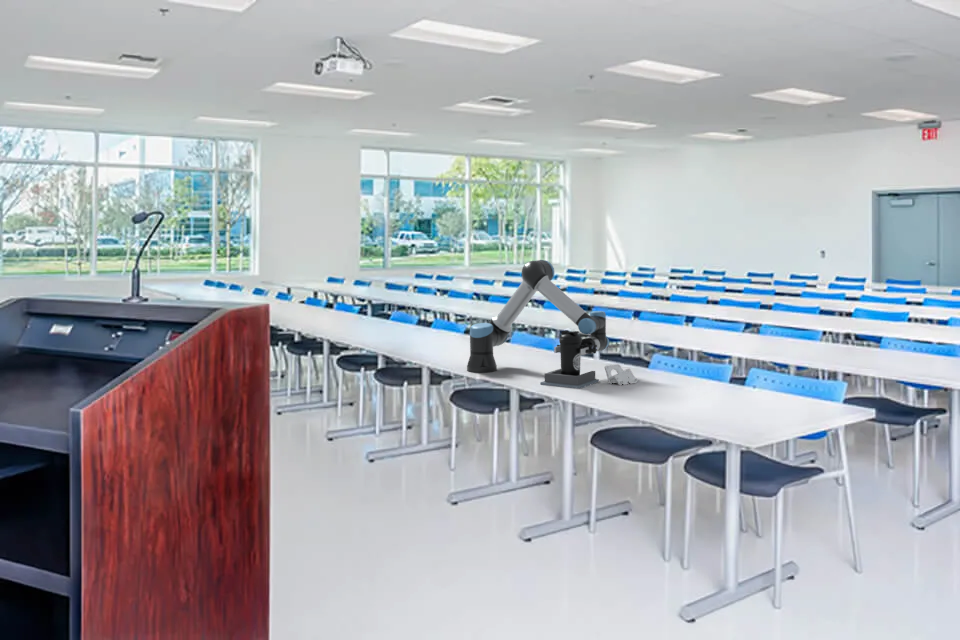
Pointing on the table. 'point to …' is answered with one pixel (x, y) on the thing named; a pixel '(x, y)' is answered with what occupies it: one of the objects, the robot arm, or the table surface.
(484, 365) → the robot arm
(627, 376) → the mounting bracket
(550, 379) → the walled base tray
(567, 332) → the water bottle
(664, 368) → the table surface
